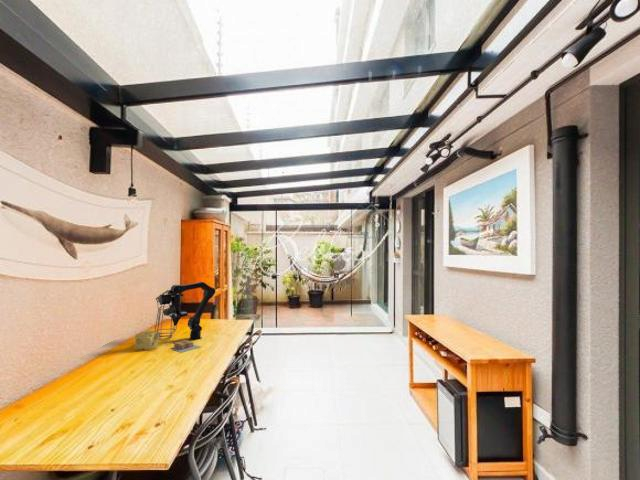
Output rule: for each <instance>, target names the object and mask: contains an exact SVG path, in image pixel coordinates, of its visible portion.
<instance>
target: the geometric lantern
mask: <svg viewBox="0 0 640 480" xmlns="http://www.w3.org/2000/svg"><path fill="white" fill-rule="evenodd" d="M170 290H171V289H167V290H166V291H164V292H163V293H160V294H159V295H158V296H157V297H156V298H155V300H156V303H157V313H156V314H157V315H156V321H155V327H154V331H159V338H161V337H162V335H165V334H166V335H165V337H166V338H165V337H164V338H163V340H165V339H166V340H168V339H171V338H172V337H173V334H175V333H176V331H177V329H178V324H177V325H176V326H174V325H172V324H173V320H172V318H171V317H170V328H162V327H163V318H164V313H163V312H162V311H163V310H165V309H166V308H165V307H166V304H164V305H160V307H159V299H160V297H161V295H166V294H168V292H169V291H170ZM170 305H171V304H168V307H170ZM160 320H161V322H160ZM159 327H160V328H159ZM172 327H173V328H172ZM163 330H170V332H161V331H163ZM168 334H169V335H168ZM167 337H168V338H167Z"/></svg>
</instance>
